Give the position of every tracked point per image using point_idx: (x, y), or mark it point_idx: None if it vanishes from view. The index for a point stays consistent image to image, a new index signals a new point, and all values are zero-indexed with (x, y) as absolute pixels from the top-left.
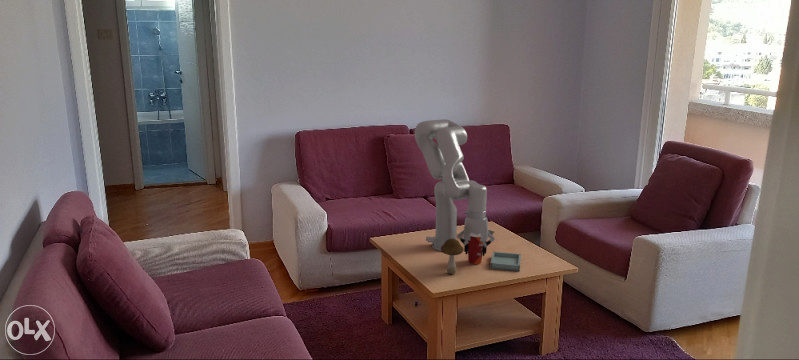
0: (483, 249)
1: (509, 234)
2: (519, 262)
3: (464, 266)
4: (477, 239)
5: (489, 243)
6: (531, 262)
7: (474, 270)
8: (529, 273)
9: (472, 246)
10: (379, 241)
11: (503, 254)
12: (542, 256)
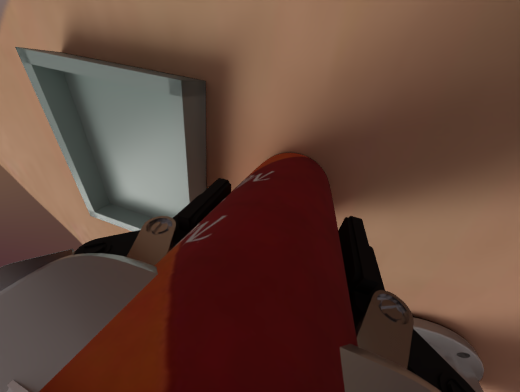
0: (198, 205)
1: None
2: (45, 109)
3: (381, 113)
4: (170, 318)
5: (105, 240)
6: None
7: (318, 22)
8: (13, 26)
9: (304, 231)
10: None
11: None
12: (71, 219)
